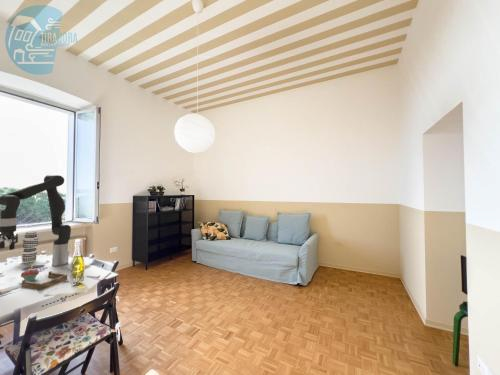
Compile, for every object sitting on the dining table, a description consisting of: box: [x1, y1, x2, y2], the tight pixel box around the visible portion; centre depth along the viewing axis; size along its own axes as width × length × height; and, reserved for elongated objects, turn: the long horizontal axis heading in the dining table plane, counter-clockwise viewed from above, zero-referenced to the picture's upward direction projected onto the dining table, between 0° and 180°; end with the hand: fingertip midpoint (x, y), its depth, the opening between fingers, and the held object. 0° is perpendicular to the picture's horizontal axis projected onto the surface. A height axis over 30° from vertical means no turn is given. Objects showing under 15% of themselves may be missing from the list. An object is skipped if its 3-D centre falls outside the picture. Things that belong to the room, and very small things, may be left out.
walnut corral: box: [21, 270, 68, 290], centre depth 138 cm, size 16×15×4 cm
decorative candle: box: [21, 230, 39, 264], centre depth 175 cm, size 9×9×25 cm
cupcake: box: [20, 262, 40, 282], centre depth 141 cm, size 9×8×12 cm
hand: (6, 248), depth 137 cm, fingers open, 8 cm apart
